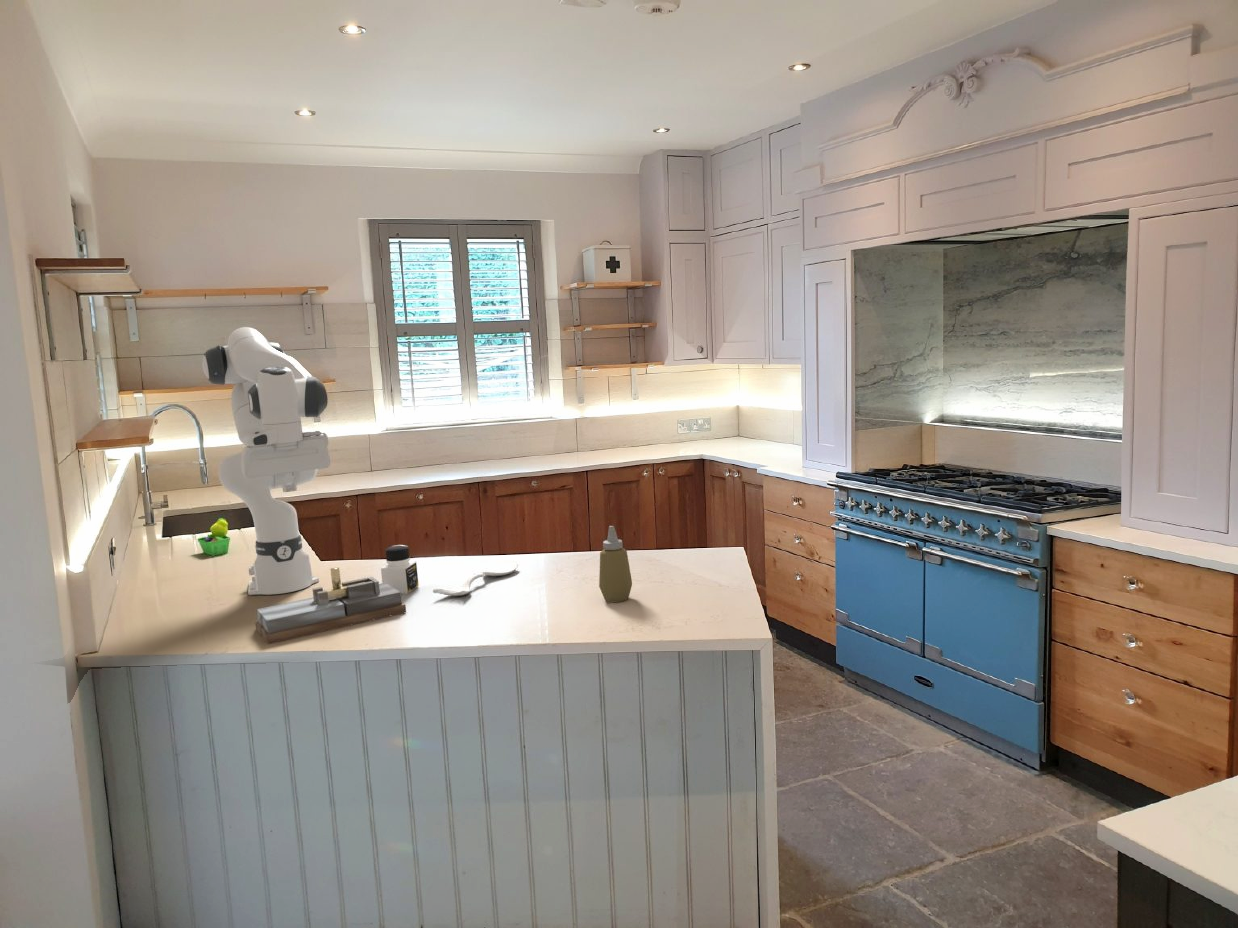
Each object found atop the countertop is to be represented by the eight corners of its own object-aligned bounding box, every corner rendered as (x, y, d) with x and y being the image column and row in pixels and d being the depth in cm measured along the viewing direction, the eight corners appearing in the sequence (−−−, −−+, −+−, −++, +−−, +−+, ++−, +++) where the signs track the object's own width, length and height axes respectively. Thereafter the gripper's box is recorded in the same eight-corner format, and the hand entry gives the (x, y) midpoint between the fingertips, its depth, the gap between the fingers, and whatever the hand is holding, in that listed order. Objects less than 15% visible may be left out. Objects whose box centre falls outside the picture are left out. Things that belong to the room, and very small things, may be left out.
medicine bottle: (408, 594, 234) (403, 549, 233) (383, 594, 235) (378, 550, 234) (419, 586, 241) (414, 542, 239) (394, 586, 242) (389, 543, 241)
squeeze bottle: (611, 606, 211) (605, 531, 209) (593, 599, 218) (588, 526, 215) (639, 599, 215) (634, 525, 213) (621, 592, 222) (616, 521, 220)
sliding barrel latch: (256, 628, 212) (252, 596, 211) (387, 600, 229) (384, 570, 228) (268, 643, 201) (264, 609, 200) (406, 612, 218) (402, 580, 216)
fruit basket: (198, 553, 305) (193, 520, 303) (224, 547, 311) (220, 515, 309) (209, 557, 296) (205, 524, 295) (236, 551, 302) (232, 519, 301)
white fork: (432, 601, 226) (431, 588, 226) (496, 568, 255) (495, 557, 255) (462, 603, 223) (461, 590, 222) (524, 570, 252) (523, 558, 251)
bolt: (324, 598, 215) (321, 570, 214) (365, 589, 220) (362, 562, 219) (326, 600, 213) (323, 571, 212) (368, 591, 218) (365, 563, 217)
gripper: (323, 429, 223) (329, 483, 225) (236, 438, 212) (243, 496, 214) (330, 430, 218) (336, 486, 220) (241, 440, 207) (248, 499, 209)
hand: (289, 491), depth 217 cm, fingers closed
